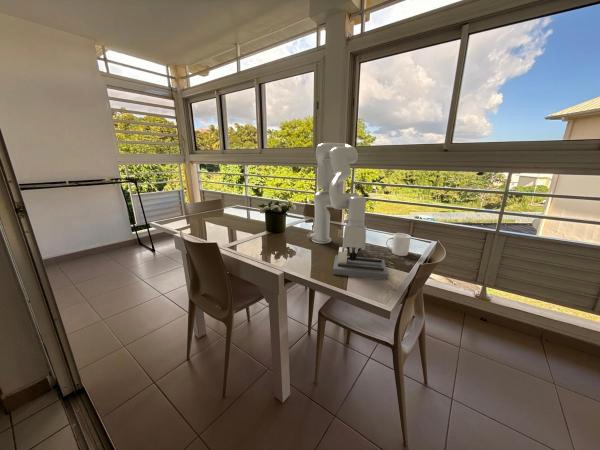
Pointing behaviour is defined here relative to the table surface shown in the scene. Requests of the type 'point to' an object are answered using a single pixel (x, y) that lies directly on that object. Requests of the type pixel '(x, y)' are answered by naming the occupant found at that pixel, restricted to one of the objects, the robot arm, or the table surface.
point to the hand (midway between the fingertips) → (352, 259)
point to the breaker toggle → (342, 255)
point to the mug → (400, 244)
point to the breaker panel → (362, 268)
